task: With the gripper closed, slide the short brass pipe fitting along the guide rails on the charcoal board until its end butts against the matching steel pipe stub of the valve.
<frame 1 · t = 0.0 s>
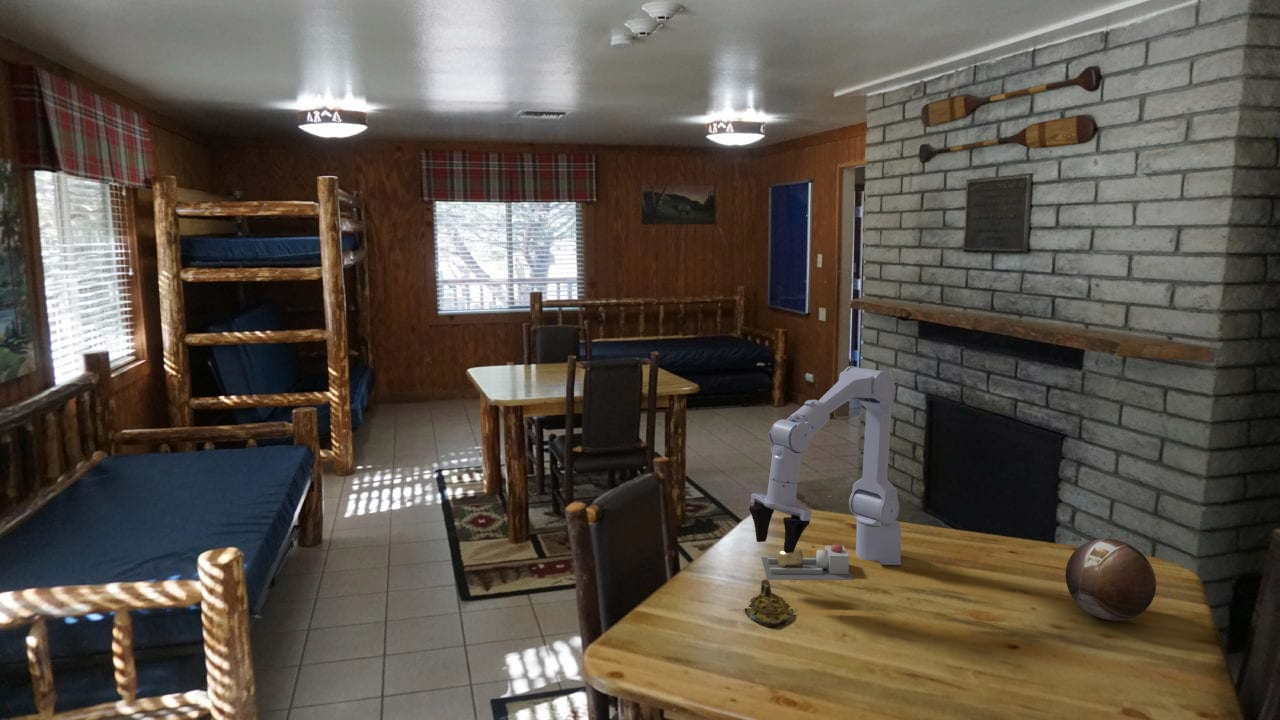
hand: (774, 546, 170), 11 cm above the table, tool pointing down, fingers open, 7 cm apart
valve board: (805, 572, 184), on the table
brass fitting: (789, 567, 184), point 1 cm above the table, touching valve board
wooden sphere: (1106, 617, 162), on the table
seal: (768, 613, 166), on the table
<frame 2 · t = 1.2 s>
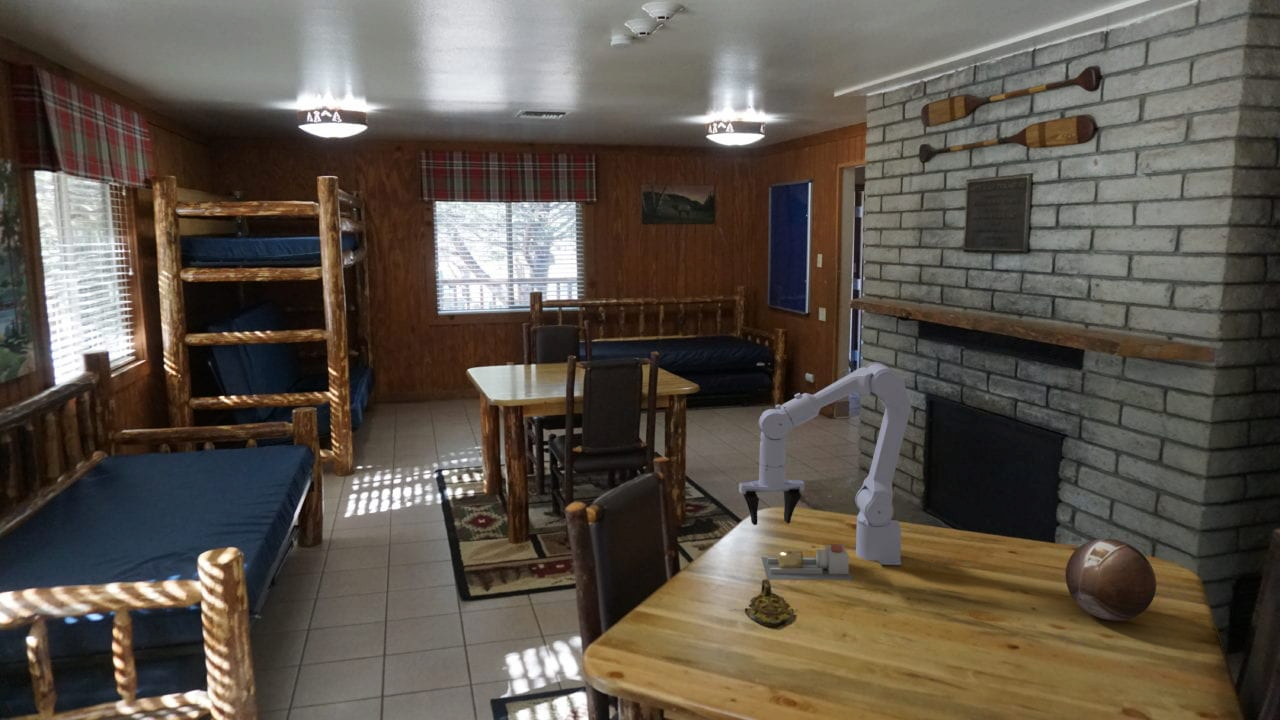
hand: (770, 522, 190), 9 cm above the table, tool pointing down, fingers open, 7 cm apart
brass fitting: (789, 567, 184), point 1 cm above the table, tilted 19°, touching valve board
everything else where it was.
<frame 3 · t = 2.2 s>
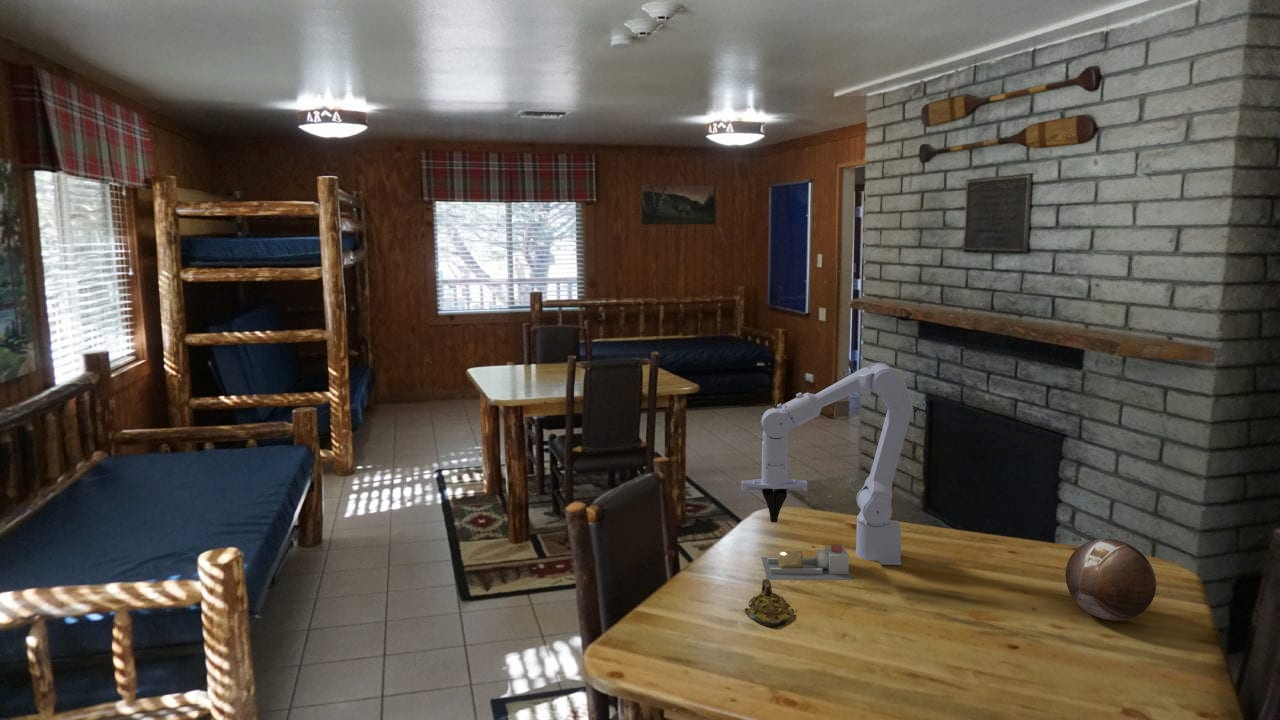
hand: (773, 521, 192), 8 cm above the table, tool pointing down, fingers closed
nothing on the table moved.
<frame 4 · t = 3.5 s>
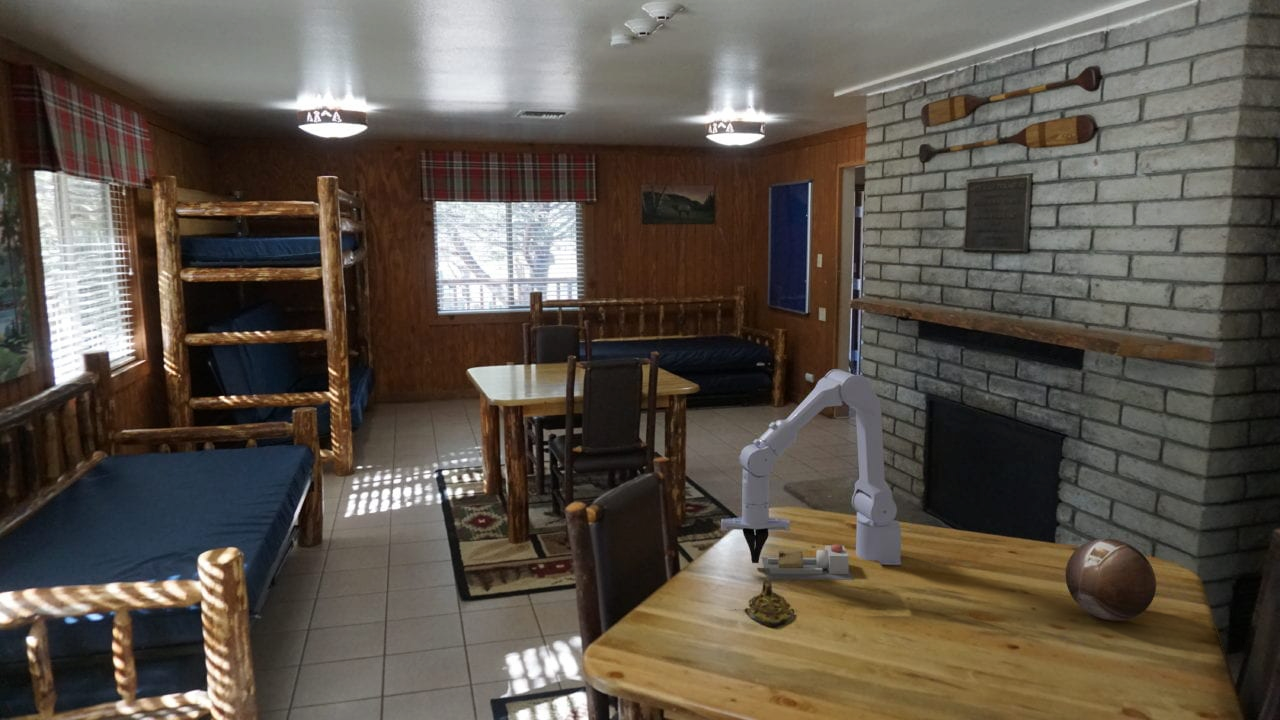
hand: (754, 561, 184), 2 cm above the table, tool pointing down, fingers closed
nothing on the table moved.
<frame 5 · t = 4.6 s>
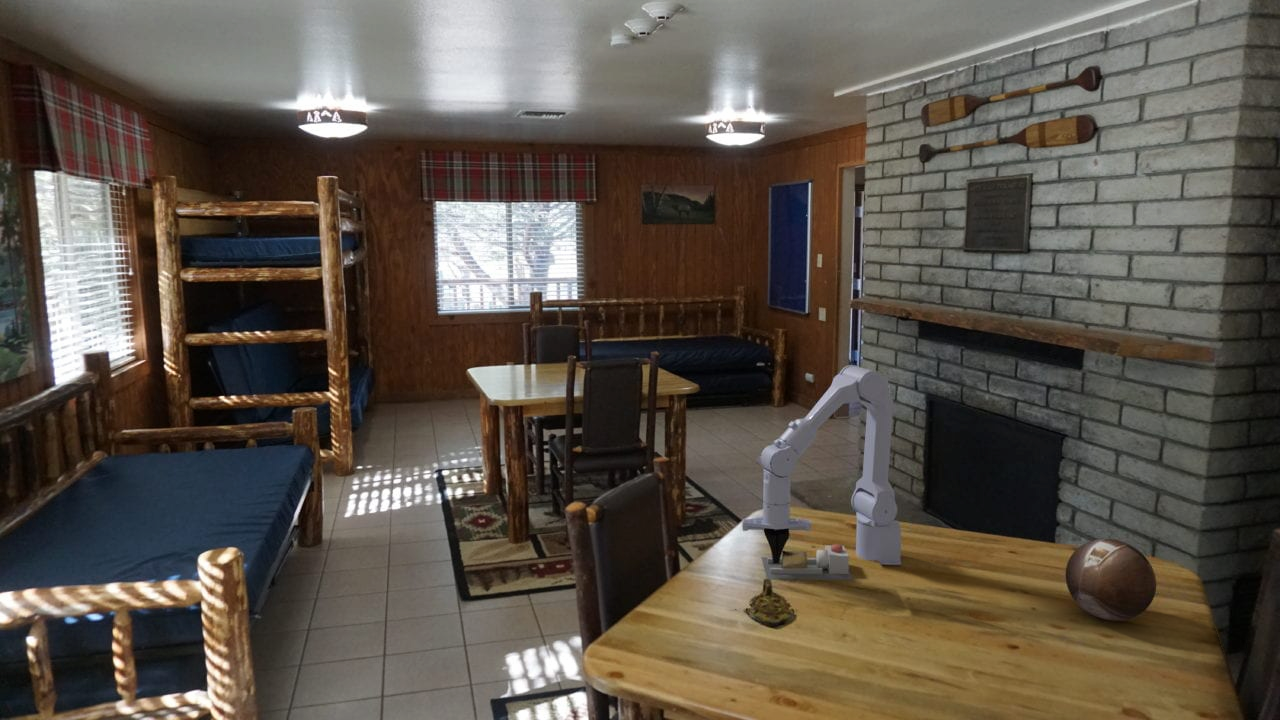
hand: (775, 561, 184), 2 cm above the table, tool pointing down, fingers closed
brass fitting: (793, 567, 184), point 1 cm above the table, tilted 19°, touching gripper, valve board
everything else where it was.
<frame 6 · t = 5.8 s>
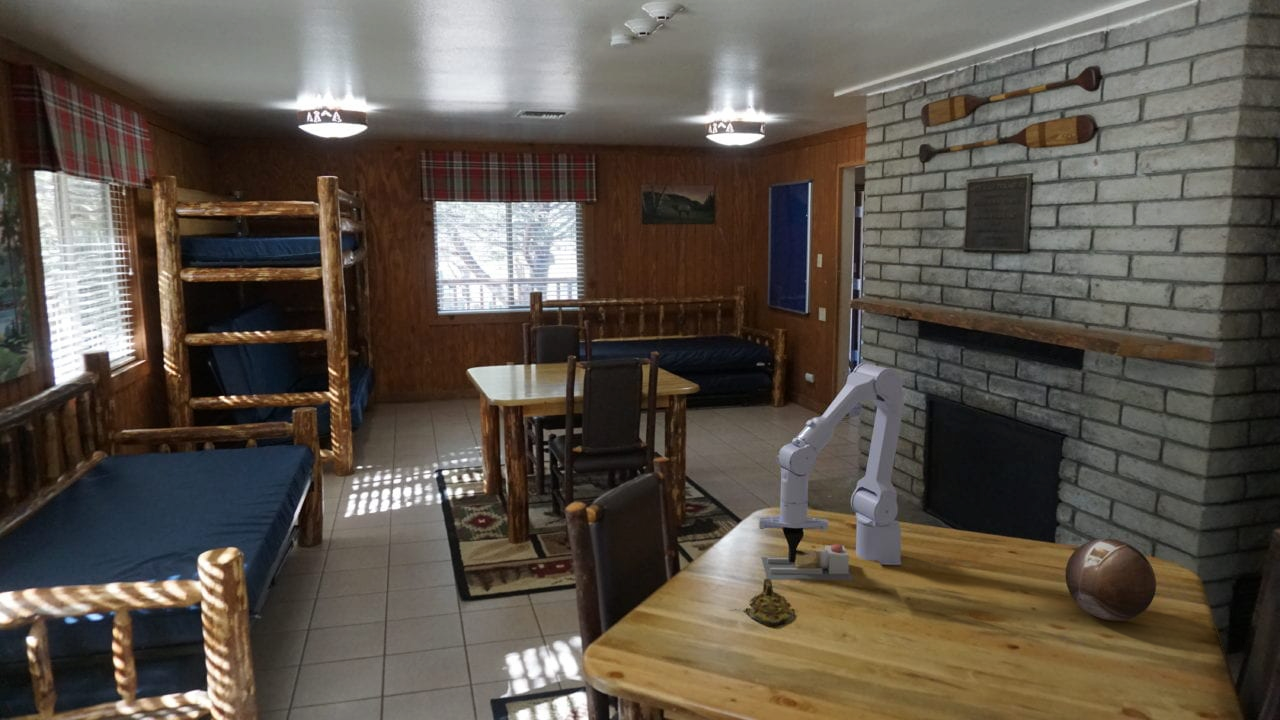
hand: (791, 560, 183), 3 cm above the table, tool pointing down, fingers closed, pressing on brass fitting
brass fitting: (805, 567, 184), point 1 cm above the table, tilted 19°, touching gripper, valve board
everything else where it was.
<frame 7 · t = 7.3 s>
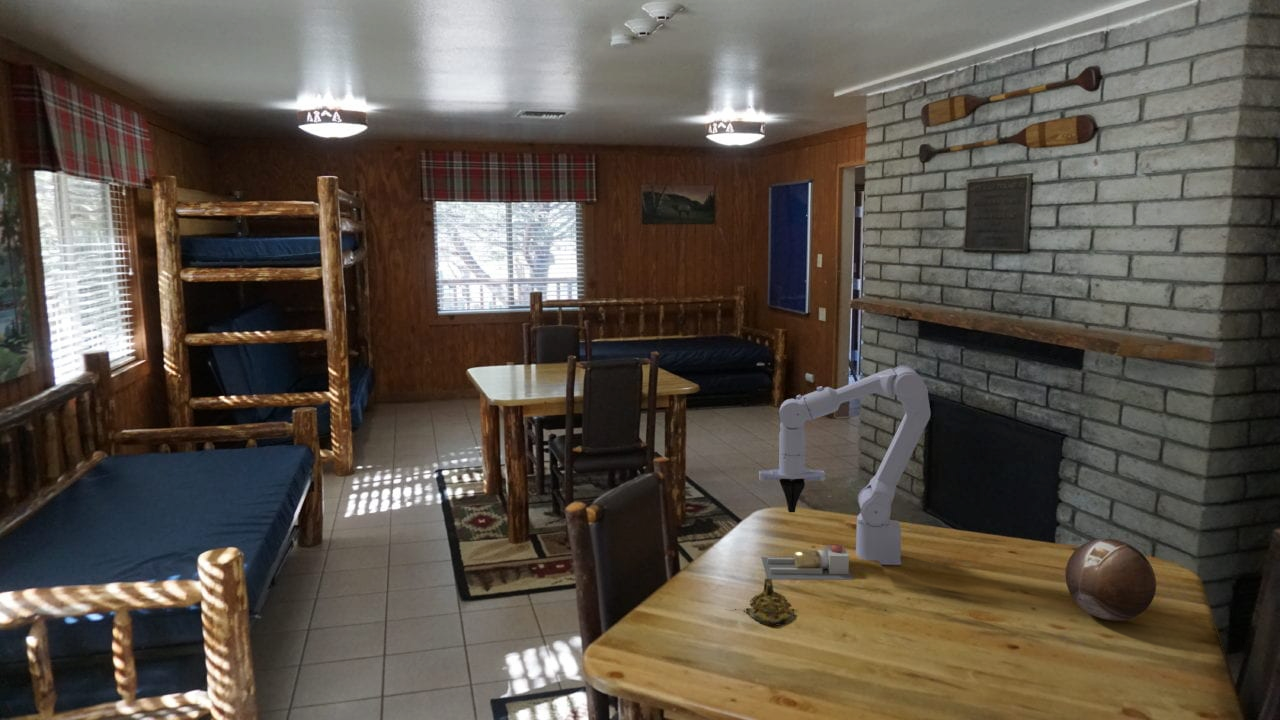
hand: (791, 511, 193), 10 cm above the table, tool pointing down, fingers closed
brass fitting: (805, 567, 184), point 1 cm above the table, tilted 15°, touching valve board
everything else where it was.
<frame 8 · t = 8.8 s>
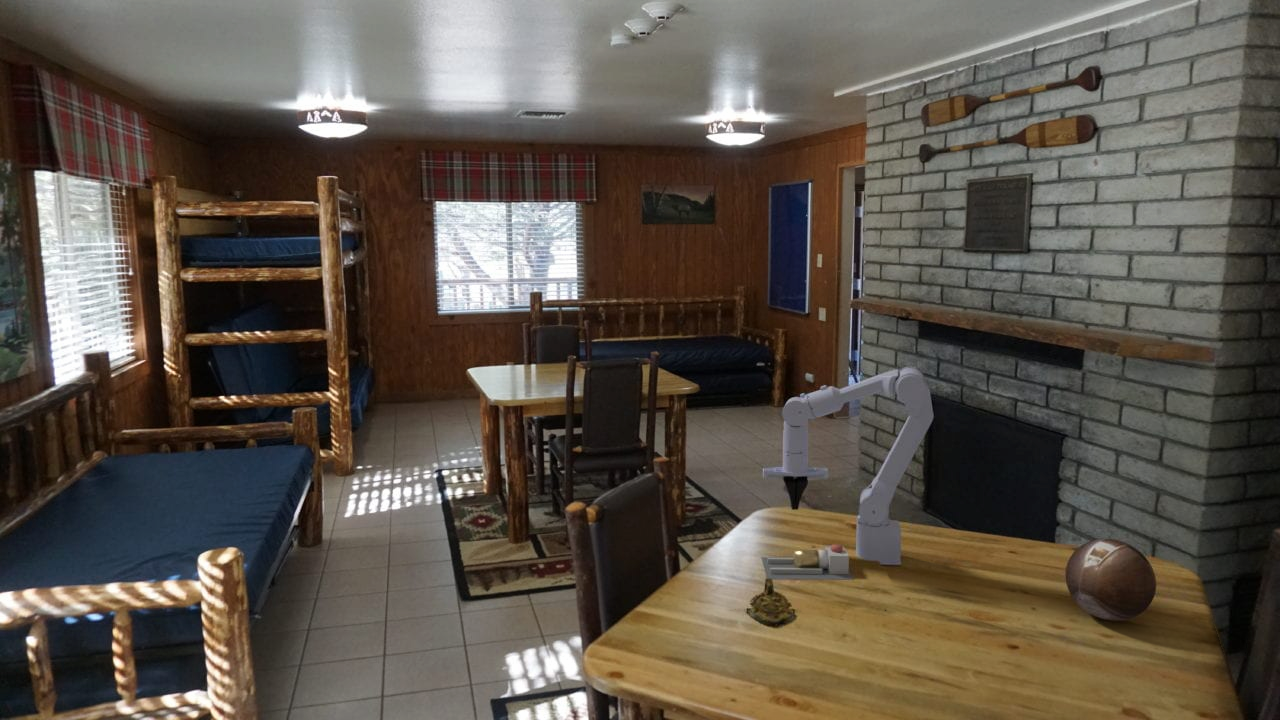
hand: (794, 508, 194), 10 cm above the table, tool pointing down, fingers closed
brass fitting: (805, 568, 184), point 1 cm above the table, touching valve board
everything else where it was.
at the end: brass fitting 0.2 cm off-centre on the valve board, point 1.0 cm above the valve board's base; brass fitting moved 3.4 cm from its start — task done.
